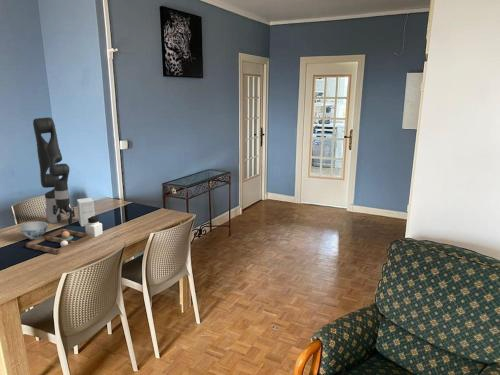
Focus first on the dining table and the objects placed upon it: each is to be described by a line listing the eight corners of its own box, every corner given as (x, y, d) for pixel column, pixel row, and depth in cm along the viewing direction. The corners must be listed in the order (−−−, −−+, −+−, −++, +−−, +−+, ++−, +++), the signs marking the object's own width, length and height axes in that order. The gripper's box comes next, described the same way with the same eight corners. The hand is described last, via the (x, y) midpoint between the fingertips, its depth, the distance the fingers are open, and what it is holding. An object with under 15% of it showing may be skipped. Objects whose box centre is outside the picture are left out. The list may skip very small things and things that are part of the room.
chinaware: (22, 234, 234) (21, 222, 232) (50, 231, 240) (48, 220, 238) (19, 243, 221) (17, 231, 219) (48, 240, 226) (46, 228, 225)
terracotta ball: (60, 238, 228) (59, 231, 227) (66, 236, 232) (65, 229, 231) (65, 239, 227) (65, 233, 226) (71, 237, 231) (70, 230, 230)
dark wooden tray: (25, 247, 216) (25, 243, 215) (62, 232, 239) (62, 228, 239) (57, 254, 208) (57, 250, 207) (92, 238, 231) (92, 234, 231)
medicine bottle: (103, 233, 239) (101, 215, 236) (95, 237, 232) (93, 219, 229) (93, 232, 241) (92, 214, 238) (85, 235, 235) (84, 217, 232)
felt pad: (55, 239, 227) (55, 239, 227) (66, 235, 235) (66, 234, 235) (65, 241, 225) (65, 241, 225) (76, 237, 232) (76, 236, 232)
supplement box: (93, 220, 262) (91, 197, 258) (96, 224, 255) (94, 200, 251) (78, 222, 257) (76, 199, 253) (80, 226, 250) (78, 202, 245)
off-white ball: (59, 247, 216) (58, 241, 215) (64, 245, 220) (64, 238, 219) (64, 248, 215) (63, 242, 214) (70, 246, 218) (69, 239, 217)
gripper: (47, 197, 222) (50, 222, 227) (66, 200, 218) (69, 226, 222) (58, 193, 229) (60, 218, 233) (76, 197, 224) (78, 222, 229)
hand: (64, 222), depth 228 cm, fingers open, 8 cm apart
